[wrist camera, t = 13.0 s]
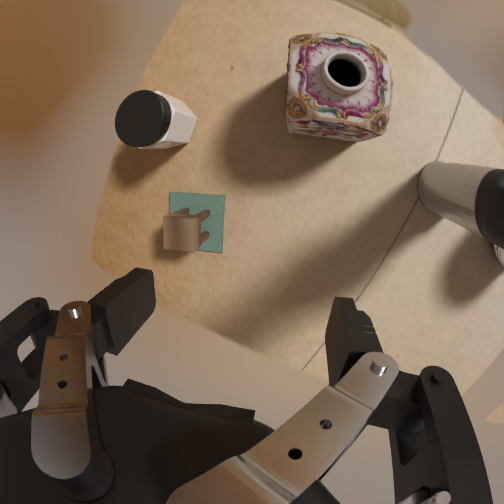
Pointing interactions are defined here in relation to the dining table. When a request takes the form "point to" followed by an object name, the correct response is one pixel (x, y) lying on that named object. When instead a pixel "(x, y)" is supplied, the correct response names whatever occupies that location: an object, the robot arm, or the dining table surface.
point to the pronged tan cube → (184, 230)
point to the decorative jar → (337, 87)
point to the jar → (154, 121)
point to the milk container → (499, 253)
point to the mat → (210, 224)
